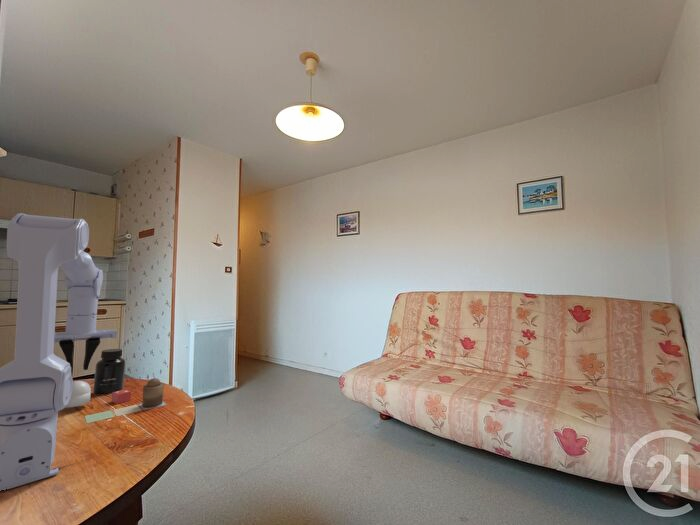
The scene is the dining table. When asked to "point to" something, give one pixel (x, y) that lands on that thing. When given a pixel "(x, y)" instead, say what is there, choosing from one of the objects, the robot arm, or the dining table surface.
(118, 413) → the game board
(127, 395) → the red die
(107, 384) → the supplement bottle
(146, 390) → the pawn
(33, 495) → the dining table surface
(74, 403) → the dome
